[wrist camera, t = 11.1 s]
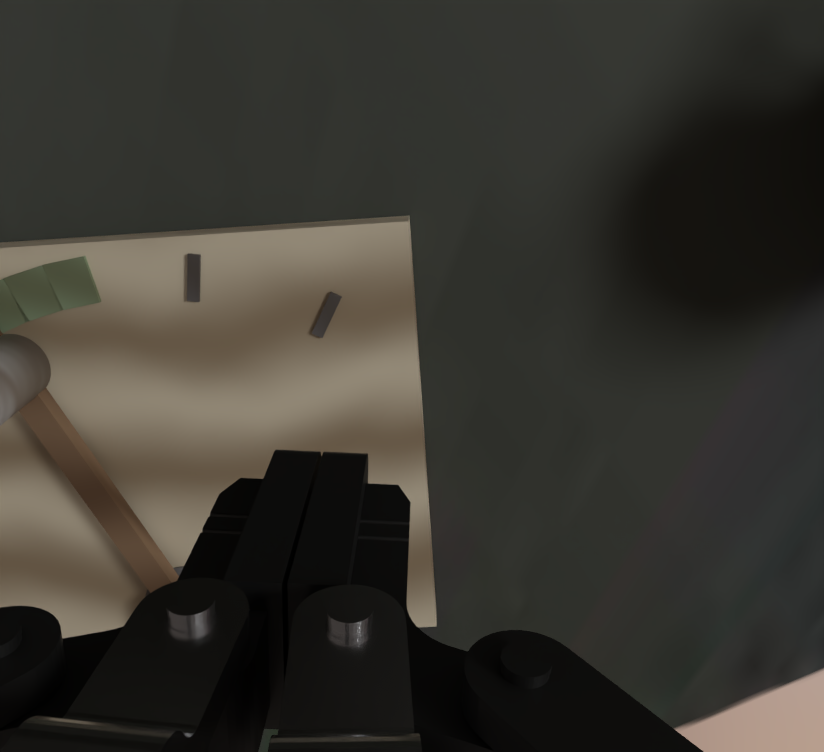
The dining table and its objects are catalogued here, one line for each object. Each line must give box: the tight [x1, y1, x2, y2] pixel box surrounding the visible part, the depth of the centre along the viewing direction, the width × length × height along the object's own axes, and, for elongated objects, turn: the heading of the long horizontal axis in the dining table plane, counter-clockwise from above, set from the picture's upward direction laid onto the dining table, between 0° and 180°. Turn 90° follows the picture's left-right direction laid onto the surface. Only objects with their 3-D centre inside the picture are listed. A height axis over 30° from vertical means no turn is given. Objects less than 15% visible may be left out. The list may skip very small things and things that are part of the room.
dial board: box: [0, 216, 437, 638], centre depth 37 cm, size 20×24×2 cm
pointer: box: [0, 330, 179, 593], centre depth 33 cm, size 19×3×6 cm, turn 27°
